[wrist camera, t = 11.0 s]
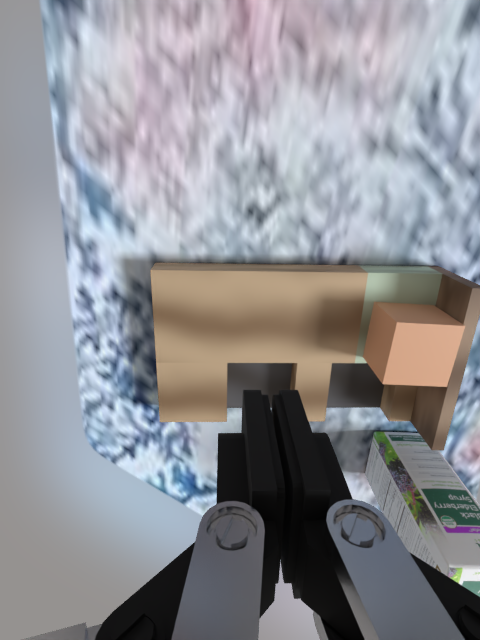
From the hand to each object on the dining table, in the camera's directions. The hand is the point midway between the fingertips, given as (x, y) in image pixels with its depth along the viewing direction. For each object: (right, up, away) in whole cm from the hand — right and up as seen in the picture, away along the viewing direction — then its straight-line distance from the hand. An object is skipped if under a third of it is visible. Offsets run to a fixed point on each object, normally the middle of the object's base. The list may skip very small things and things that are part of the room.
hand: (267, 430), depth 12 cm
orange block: (+12, +2, +21) cm, 24 cm away
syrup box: (+15, -10, +29) cm, 34 cm away
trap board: (+4, +1, +24) cm, 24 cm away
